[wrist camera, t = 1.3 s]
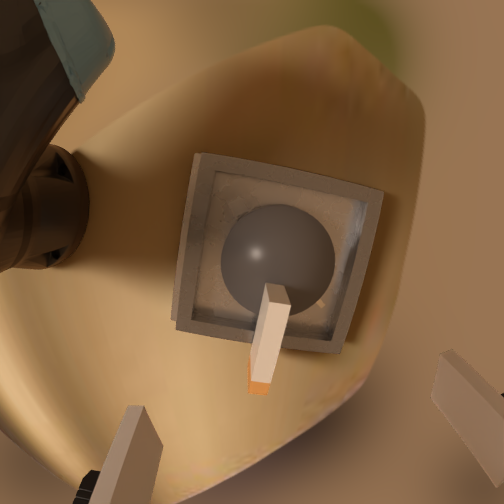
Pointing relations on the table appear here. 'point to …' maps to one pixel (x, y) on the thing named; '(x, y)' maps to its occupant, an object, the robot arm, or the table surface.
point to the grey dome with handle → (275, 276)
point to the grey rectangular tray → (237, 205)
